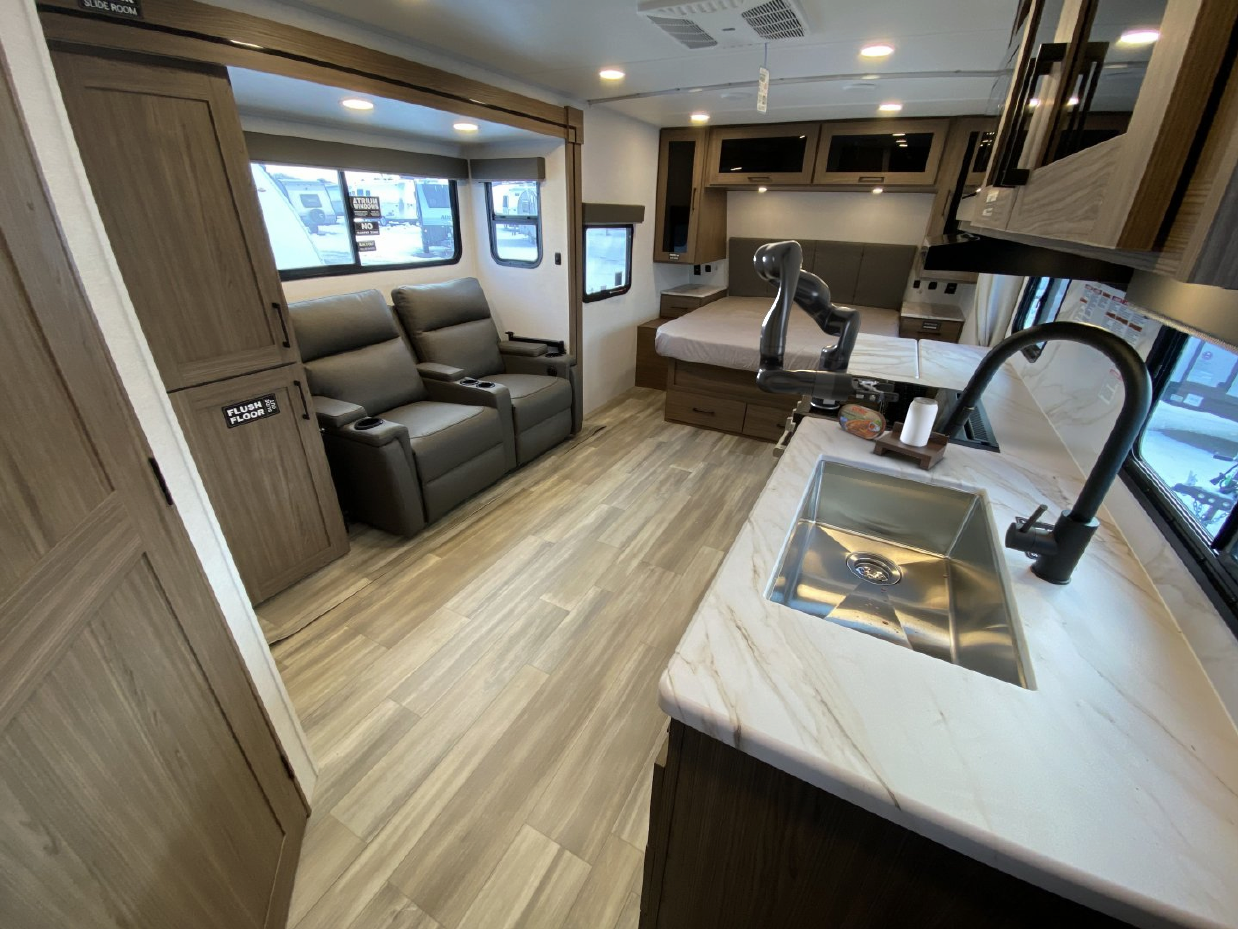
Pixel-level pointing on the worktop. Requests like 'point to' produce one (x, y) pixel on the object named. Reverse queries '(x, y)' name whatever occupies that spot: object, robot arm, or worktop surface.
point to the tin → (861, 421)
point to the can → (919, 422)
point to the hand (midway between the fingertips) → (895, 393)
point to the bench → (927, 453)
